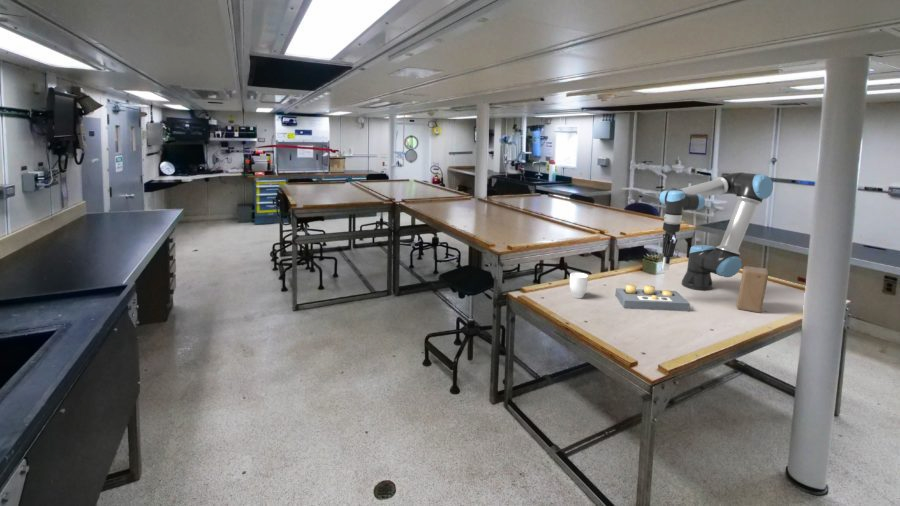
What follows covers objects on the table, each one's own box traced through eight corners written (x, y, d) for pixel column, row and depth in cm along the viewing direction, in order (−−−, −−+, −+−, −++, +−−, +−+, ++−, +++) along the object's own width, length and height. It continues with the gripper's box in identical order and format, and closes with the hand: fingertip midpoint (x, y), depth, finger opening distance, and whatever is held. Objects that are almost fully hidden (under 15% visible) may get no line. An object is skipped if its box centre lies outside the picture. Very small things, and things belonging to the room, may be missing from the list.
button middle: (652, 293, 238) (653, 285, 237) (654, 296, 233) (656, 288, 232) (642, 293, 238) (643, 285, 237) (645, 296, 234) (646, 288, 233)
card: (668, 298, 228) (669, 295, 228) (672, 301, 224) (672, 298, 223) (637, 296, 230) (637, 293, 230) (640, 300, 225) (640, 297, 225)
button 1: (633, 292, 239) (634, 284, 238) (636, 296, 234) (637, 287, 233) (624, 292, 239) (625, 284, 238) (626, 295, 235) (627, 287, 234)
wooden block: (760, 313, 220) (768, 273, 215) (736, 309, 225) (743, 270, 220) (760, 307, 229) (768, 268, 223) (736, 303, 234) (743, 265, 228)
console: (675, 298, 240) (676, 290, 239) (688, 311, 222) (689, 303, 221) (615, 295, 243) (616, 288, 242) (623, 308, 226) (624, 300, 225)
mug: (589, 299, 237) (590, 276, 234) (573, 300, 236) (574, 278, 233) (579, 291, 248) (580, 270, 245) (564, 292, 247) (565, 271, 244)
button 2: (669, 298, 237) (670, 290, 236) (673, 301, 233) (674, 293, 232) (660, 298, 238) (661, 289, 237) (663, 301, 233) (664, 293, 232)
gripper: (659, 220, 232) (653, 265, 238) (668, 225, 219) (662, 272, 225) (675, 220, 231) (668, 266, 237) (685, 225, 219) (678, 273, 225)
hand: (665, 269), depth 231 cm, fingers closed
